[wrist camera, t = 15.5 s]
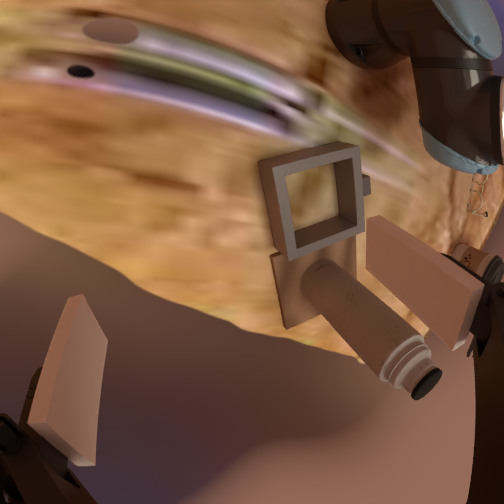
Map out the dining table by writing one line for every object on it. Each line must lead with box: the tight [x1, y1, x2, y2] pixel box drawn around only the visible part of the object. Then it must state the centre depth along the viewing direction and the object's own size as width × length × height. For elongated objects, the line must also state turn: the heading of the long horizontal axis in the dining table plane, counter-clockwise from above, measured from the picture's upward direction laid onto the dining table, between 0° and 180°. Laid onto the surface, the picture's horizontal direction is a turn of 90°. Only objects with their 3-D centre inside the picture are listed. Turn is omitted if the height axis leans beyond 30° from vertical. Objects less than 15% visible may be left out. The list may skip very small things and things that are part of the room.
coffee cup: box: [451, 244, 504, 285], centre depth 65 cm, size 11×11×15 cm
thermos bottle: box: [301, 259, 442, 400], centre depth 41 cm, size 8×8×28 cm
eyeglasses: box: [468, 174, 488, 217], centre depth 63 cm, size 17×15×5 cm
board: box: [270, 235, 357, 330], centre depth 54 cm, size 16×16×1 cm
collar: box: [258, 142, 371, 261], centre depth 45 cm, size 16×14×5 cm
